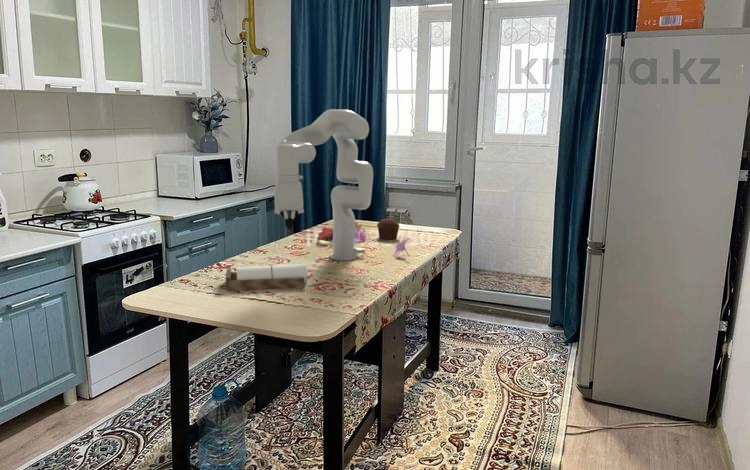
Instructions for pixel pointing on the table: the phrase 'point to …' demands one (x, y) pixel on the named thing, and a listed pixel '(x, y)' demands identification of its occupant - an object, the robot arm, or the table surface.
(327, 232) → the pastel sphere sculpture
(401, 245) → the lily
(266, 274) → the cylindrical container
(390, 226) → the muffin
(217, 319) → the table surface
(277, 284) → the U-rest
